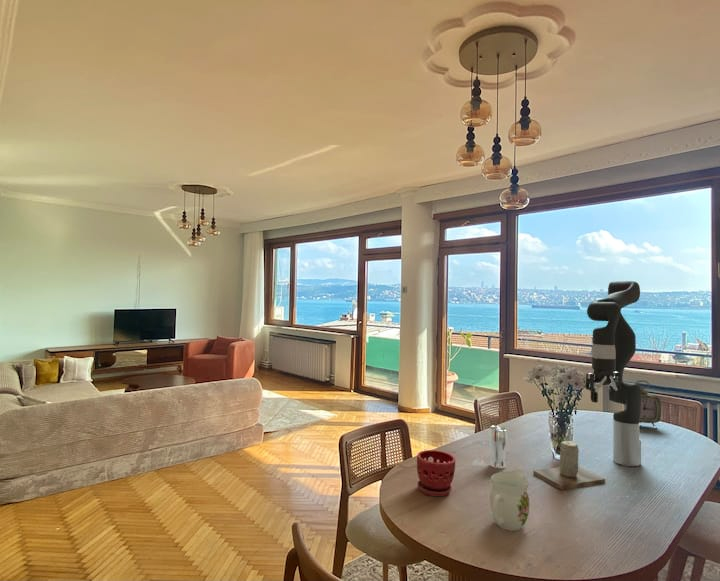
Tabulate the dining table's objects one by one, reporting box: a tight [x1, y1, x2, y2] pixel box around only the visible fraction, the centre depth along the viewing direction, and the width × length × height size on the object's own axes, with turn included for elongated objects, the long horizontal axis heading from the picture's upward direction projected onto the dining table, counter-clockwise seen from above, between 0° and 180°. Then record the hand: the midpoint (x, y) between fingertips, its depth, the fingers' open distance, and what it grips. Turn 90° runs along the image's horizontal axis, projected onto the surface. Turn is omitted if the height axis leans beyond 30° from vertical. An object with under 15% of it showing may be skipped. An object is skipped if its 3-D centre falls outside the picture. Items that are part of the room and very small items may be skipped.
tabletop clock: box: [624, 380, 662, 427], centre depth 230 cm, size 14×9×25 cm, turn 81°
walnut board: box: [532, 466, 606, 491], centre depth 160 cm, size 20×14×2 cm
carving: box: [558, 440, 580, 477], centre depth 160 cm, size 6×8×12 cm
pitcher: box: [489, 469, 530, 532], centre depth 125 cm, size 11×18×14 cm, turn 137°
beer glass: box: [488, 425, 508, 470], centre depth 171 cm, size 7×7×15 cm
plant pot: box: [416, 449, 456, 497], centre depth 148 cm, size 13×13×12 cm
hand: (603, 401), depth 155 cm, fingers open, 8 cm apart
